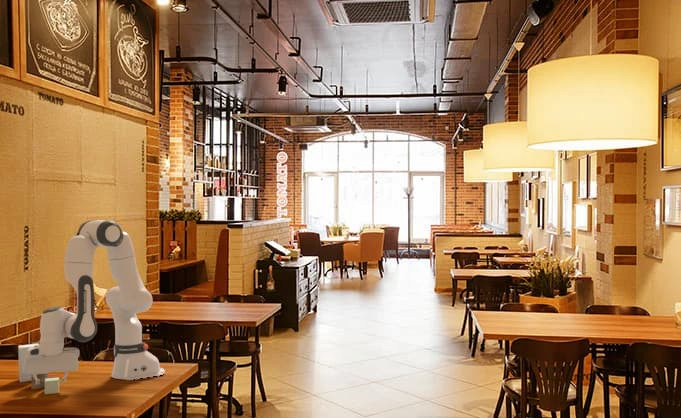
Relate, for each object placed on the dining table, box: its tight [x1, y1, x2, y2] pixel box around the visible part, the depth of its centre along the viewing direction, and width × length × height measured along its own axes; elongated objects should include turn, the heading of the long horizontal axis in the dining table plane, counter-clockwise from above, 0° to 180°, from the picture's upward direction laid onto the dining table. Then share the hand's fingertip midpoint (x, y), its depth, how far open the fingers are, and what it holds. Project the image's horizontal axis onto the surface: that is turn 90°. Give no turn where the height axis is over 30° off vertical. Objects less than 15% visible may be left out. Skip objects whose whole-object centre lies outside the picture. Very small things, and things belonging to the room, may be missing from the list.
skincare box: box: [17, 342, 40, 383], centre depth 275 cm, size 8×6×15 cm
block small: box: [44, 376, 60, 395], centre depth 257 cm, size 5×5×5 cm
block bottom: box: [30, 372, 49, 390], centre depth 265 cm, size 6×6×6 cm
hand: (50, 383), depth 257 cm, fingers open, 8 cm apart
